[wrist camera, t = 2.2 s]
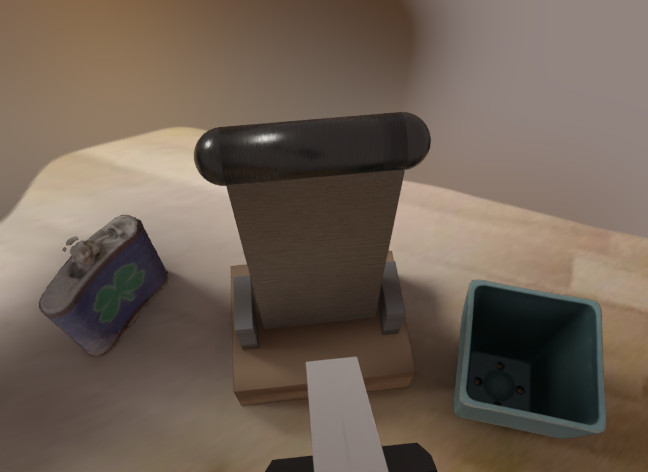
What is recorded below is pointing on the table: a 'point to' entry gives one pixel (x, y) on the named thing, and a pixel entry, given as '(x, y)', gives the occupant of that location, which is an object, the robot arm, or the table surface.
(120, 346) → the table surface
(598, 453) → the table surface
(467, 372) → the flower pot
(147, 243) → the flask
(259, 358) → the base
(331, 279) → the lever
